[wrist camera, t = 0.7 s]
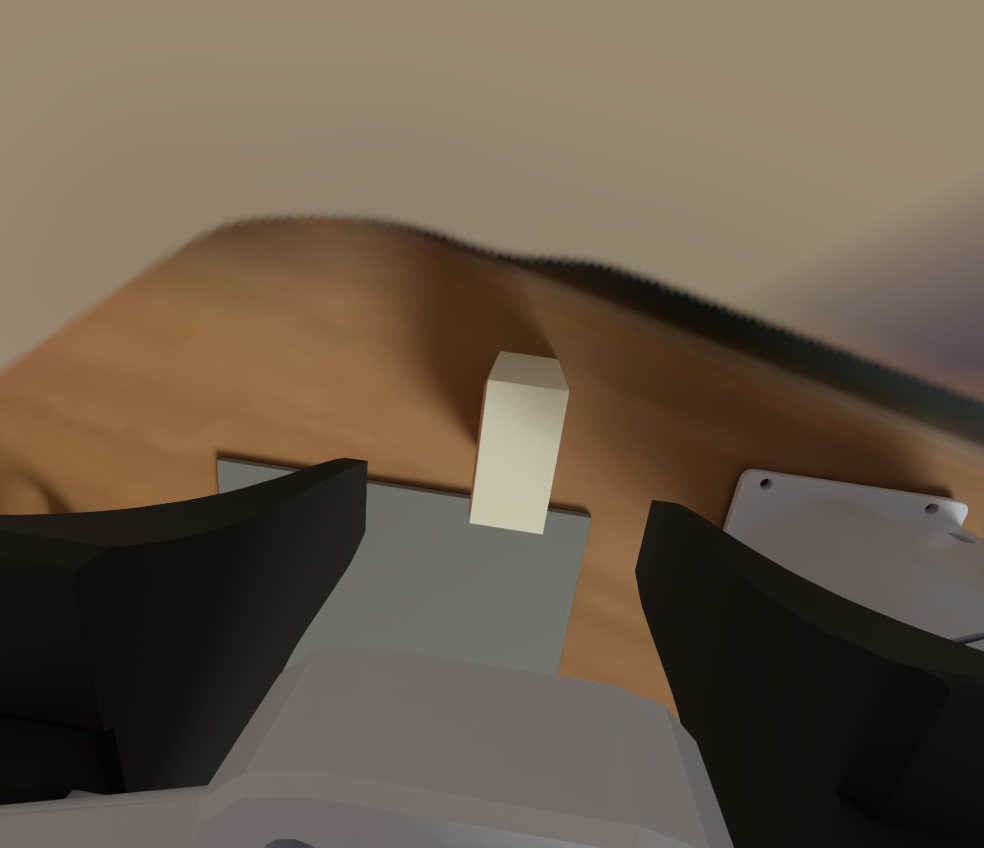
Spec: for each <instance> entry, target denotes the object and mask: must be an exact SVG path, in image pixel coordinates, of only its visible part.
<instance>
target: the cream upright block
mask: <svg viewBox="0 0 984 848" xmlns="http://www.w3.org/2000/svg"><path fill="white" fill-rule="evenodd" d="M568 396H569V389H568V386H567V383H566V380H565V377H564V375H563V372H562V369H561V366H560V363H559V361H558V359H553V358H546V357H539V356H532V355H525V354H518V353H511V352H504V351H500V353H499V355H498V356H497V357H496V360H495V362H494V364H493V366H492V369H491V371H490V373H489V375H488V378H487V380H486V382H485V385H484V393H483V401H482V409H481V417H480V425H479V432H478V440H477V448H476V456H475V464H474V472H473V480H472V488H471V496H470V504H469V511H468V515H471V516H470V523H472V524H479V525H485V526H492V527H498V528H504V529H511V530H517V531H524V532H530V533H536V534H543V530H544V525H545V520H546V514H547V509H548V504H549V498H550V493H551V488H552V482H553V477H554V471H555V466H556V461H557V455H558V450H559V445H560V439H561V434H562V429H563V423H564V418H565V412H566V407H567V402H568Z"/></svg>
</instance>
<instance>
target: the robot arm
mask: <svg viewBox="0 0 984 848" xmlns="http://www.w3.org/2000/svg"><path fill="white" fill-rule="evenodd" d="M367 465H368V461H364V460H357V459H349V458H340V459H335V460H331V461H328V462H324V463H321V464H318V465H315V466H312V467H309V468H306V469H303V470H300V471H297V472H294V473H291V474H288V475H285V476H282V477H278V478H275V479H272V480H268V481H265V482H262V483H258V484H255V485H251V486H248V487H245V488H241V489H237V490H233V491H229V492H225V493H221V494H216V495H211V496H207V497H202V498H197V499H192V500H186V501H180V502H173V503H166V504H159V505H152V506H145V507H138V508H130V509H119V510H109V511H97V512H82V513H67V514H38V515H0V848H984V539H982V538H980V537H979V536H977V535H975V534H973V533H972V532H970V531H968V530H966V529H965V528H963V527H961V525H962V523H963V521H964V519H965V517H966V515H967V512H968V507H967V505H966V504H965V503H963V502H961V501H959V500H957V499H954V498H947V497H940V496H933V495H927V494H920V493H913V492H906V491H900V490H893V489H886V488H880V487H873V486H866V485H859V484H853V483H846V482H839V481H832V480H826V479H819V478H812V477H805V476H799V475H792V474H785V473H779V472H772V471H765V470H758V469H749V470H746V471H745V472H743V473H742V474H741V476H740V478H739V481H738V484H737V487H736V490H735V493H734V497H733V500H732V503H731V506H730V509H729V512H728V515H727V518H726V521H725V524H724V527H723V530H722V529H720V528H719V527H717V526H715V525H714V524H712V523H711V522H709V521H708V520H706V519H705V518H703V517H701V516H700V515H698V514H697V513H695V512H693V511H692V510H690V509H688V508H686V507H684V506H682V505H680V504H677V503H671V502H663V501H656V500H652V503H651V507H650V511H649V515H648V519H647V523H646V528H645V532H644V536H643V540H642V544H641V548H640V552H639V556H638V561H637V565H636V569H635V573H636V579H637V584H638V590H639V595H640V600H641V604H642V608H643V611H644V614H645V617H646V620H647V623H648V626H649V629H650V632H651V635H652V637H653V640H654V643H655V646H656V649H657V651H658V654H659V657H660V660H661V663H662V665H663V668H664V671H665V674H666V677H667V680H668V682H669V685H670V688H671V691H672V694H673V697H674V701H675V704H676V707H677V710H678V714H679V718H680V722H681V724H680V722H679V721H678V720H677V719H676V718H675V717H674V715H673V714H672V713H671V712H670V711H669V710H668V708H667V707H666V706H665V705H663V704H660V703H658V702H655V701H652V700H650V699H647V698H645V697H642V696H639V695H637V694H634V693H632V692H629V691H626V690H624V689H621V688H618V687H616V686H613V685H610V684H604V683H598V682H592V681H585V680H579V679H572V678H566V677H560V676H553V675H547V674H541V673H534V672H528V671H521V670H515V669H509V668H502V667H496V666H490V665H483V664H477V663H470V662H464V661H458V660H451V659H445V658H438V657H432V656H426V655H419V654H413V653H407V652H400V651H394V650H387V649H381V648H375V647H360V648H343V649H327V650H316V651H314V652H313V653H311V654H310V655H308V656H307V657H305V658H304V659H302V660H301V661H299V662H298V663H296V664H295V665H293V666H292V667H290V668H289V669H287V670H286V671H284V672H283V670H284V668H285V666H286V664H287V662H288V660H289V658H290V656H291V655H292V653H293V651H294V649H295V648H296V646H297V644H298V643H299V641H300V639H301V638H302V636H303V634H304V633H305V631H306V630H307V628H308V627H309V625H310V624H311V622H312V621H313V619H314V618H315V616H316V615H317V613H318V612H319V610H320V609H321V608H322V606H323V605H324V603H325V602H326V600H327V599H328V597H329V596H330V594H331V593H332V591H333V590H334V588H335V587H336V585H337V584H338V582H339V581H340V579H341V578H342V576H343V574H344V573H345V571H346V570H347V568H348V567H349V565H350V564H351V562H352V560H353V558H354V556H355V554H356V552H357V549H358V547H359V545H360V543H361V541H362V538H363V536H364V534H365V532H366V500H367ZM764 479H768V482H767V484H766V485H764V486H760V483H761V481H762V480H764ZM930 504H931V506H930V507H929V508H928V509H926V510H925V508H926V507H927V506H928V505H930ZM282 672H283V673H282Z"/></svg>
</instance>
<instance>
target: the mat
mask: <svg viewBox="0 0 984 848" xmlns="http://www.w3.org/2000/svg"><path fill="white" fill-rule="evenodd" d="M217 469H218V485H219V494H221V493H225V492H229V491H233V490H237V489H241V488H245V487H248V486H251V485H255V484H258V483H262V482H265V481H268V480H272V479H275V478H278V477H282V476H285V475H288V474H291V473H294V472H297V471H300V470H303V469H297V468H290V467H284V466H277V465H271V464H264V463H258V462H251V461H245V460H239V459H232V458H226V457H221V458H220V459H218V460H217ZM470 496H471V495H465V494H459V493H452V492H446V491H439V490H433V489H426V488H420V487H413V486H407V485H400V484H394V483H387V482H381V481H375V480H368V479H367V500H366V532H365V534H364V536H363V538H362V541H361V543H360V545H359V547H358V549H357V552H356V554H355V556H354V558H353V560H352V562H351V564H350V565H349V567H348V568H347V570H346V571H345V573H344V574H343V576H342V578H341V579H340V581H339V582H338V584H337V585H336V587H335V588H334V590H333V591H332V593H331V594H330V596H329V597H328V599H327V600H326V602H325V603H324V605H323V606H322V608H321V609H320V610H319V612H318V613H317V615H316V616H315V618H314V619H313V621H312V622H311V624H310V625H309V627H308V628H307V630H306V631H305V633H304V634H303V636H302V638H301V639H300V641H299V643H298V644H297V646H296V648H295V649H294V651H293V653H292V655H291V656H290V658H289V660H288V662H287V664H286V666H285V668H284V670H283V672H284V671H286V670H287V669H289V668H290V667H292V666H293V665H295V664H296V663H298V662H299V661H301V660H302V659H304V658H305V657H307V656H308V655H310V654H311V653H313V652H314V651H316V650H327V649H343V648H360V647H375V648H381V649H387V650H394V651H400V652H407V653H413V654H419V655H426V656H432V657H438V658H445V659H451V660H458V661H464V662H470V663H477V664H483V665H490V666H496V667H502V668H509V669H515V670H521V671H528V672H534V673H541V674H547V675H553V676H557V672H558V667H559V662H560V658H561V653H562V649H563V644H564V640H565V635H566V631H567V626H568V622H569V617H570V613H571V608H572V604H573V599H574V595H575V590H576V586H577V581H578V577H579V572H580V568H581V563H582V559H583V554H584V550H585V545H586V541H587V536H588V532H589V527H590V523H591V514H588V513H582V512H575V511H569V510H562V509H556V508H549V507H548V509H547V514H546V520H545V525H544V530H543V534H536V533H530V532H524V531H517V530H511V529H504V528H498V527H492V526H485V525H479V524H472V523H470V516H471V515H468V511H469V504H470ZM283 672H282V673H283Z"/></svg>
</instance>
